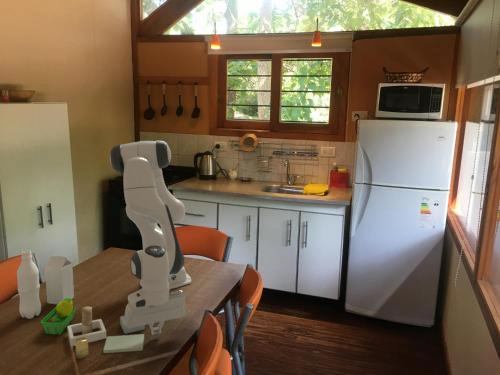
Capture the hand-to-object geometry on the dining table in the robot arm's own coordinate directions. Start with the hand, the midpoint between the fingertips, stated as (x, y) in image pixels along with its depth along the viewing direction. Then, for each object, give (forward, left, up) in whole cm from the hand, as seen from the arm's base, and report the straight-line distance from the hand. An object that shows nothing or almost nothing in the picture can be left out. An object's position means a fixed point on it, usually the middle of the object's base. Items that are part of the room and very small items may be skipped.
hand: (156, 333), depth 142 cm
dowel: (+20, -11, -2) cm, 23 cm away
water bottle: (+36, -36, -3) cm, 51 cm away
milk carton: (+25, -44, -3) cm, 51 cm away
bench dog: (+23, 0, -3) cm, 24 cm away
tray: (+20, -11, -3) cm, 23 cm away
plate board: (+10, 0, -3) cm, 11 cm away
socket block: (+5, -10, -3) cm, 12 cm away
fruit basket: (+27, -22, -3) cm, 35 cm away
